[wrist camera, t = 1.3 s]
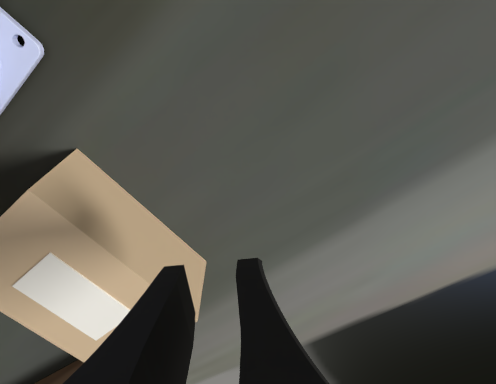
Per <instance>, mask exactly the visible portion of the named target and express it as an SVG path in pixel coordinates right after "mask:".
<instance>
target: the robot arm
mask: <svg viewBox="0 0 496 384" xmlns="http://www.w3.org/2000/svg"><path fill="white" fill-rule="evenodd" d="M18 35H20V36H22V38H23V39H24V41H25V44H24V46H22V45H20V44H19V42H18V39H17V38H18ZM43 55H44V48H43V46H42V44H41V43H40V42H39V41H38V40H37V39H36V38H35V37H34V36H33V35H32V34H30V33H29V32H28V31H27V30H26V29H25V28H24V27H22V26H21V25H20V24H19V23H18V22H17V21H16V20H14V19H13V18H12V17H11V16H10V15H9V14H8V13H6V12H5V11H4V10H3V9H2V8H1V7H0V115H1V113H2V112H3V111H4V109H5V108H6V107H7V105H8V104H9V102H10V101H11V100H12V98H13V97H14V96H15V94H16V93H17V92H18V90H19V89H20V87H21V86H22V85H23V83H24V82H25V81H26V79H27V78H28V76H29V75H30V74H31V72H32V71H33V70H34V68H35V67H36V66H37V64H38V63H39V61H40V60H41V59H42V57H43ZM236 282H237V293H238V304H239V315H240V326H241V358H240V379H239V384H329V383H328V381H327V380H326V379H325V377H324V376H323V375H322V374H321V372H320V371H319V369H318V368H317V367H316V365H315V364H314V363H313V361H312V360H311V359H310V357H309V356H308V354H307V353H306V351H305V350H304V349H303V347H302V345H301V344H300V342H299V341H298V339H297V338H296V336H295V335H294V333H293V331H292V330H291V328H290V326H289V325H288V323H287V321H286V319H285V318H284V316H283V314H282V312H281V310H280V308H279V306H278V304H277V302H276V300H275V298H274V296H273V294H272V292H271V290H270V287H269V285H268V282H267V280H266V277H265V274H264V271H263V266H262V261H261V260H260V259H259V258H252V259H241V260H238V261H237V270H236ZM195 315H196V313H195V309H194V305H193V300H192V296H191V292H190V288H189V284H188V280H187V276H186V271H185V267H184V265H175V266H164V267H163V269H162V270H161V271H160V272H159V274H158V275H157V276H156V278H155V279H154V280H153V282H152V283H151V284H150V286H149V287H148V288H147V289H146V291H145V292H144V293H143V295H142V296H141V297H140V299H139V300H138V301H137V302H136V304H135V305H134V306H133V307H132V309H131V310H130V311H129V312H128V314H127V315H126V316H125V317H124V319H123V320H122V321H121V322H120V324H119V325H118V326H117V327H116V328H115V329H114V330H113V332H112V333H111V334H110V335H109V336H108V337H107V338H106V340H105V341H104V342H103V343H102V344H101V345H100V346H99V347H98V349H97V350H96V351H95V352H94V353H93V354H92V355H91V356H90V357H89V358H88V359H87V360H86V361H85V362H84V363H83V364H82V365H81V366H80V367H79V368H78V369H77V370H76V371H75V372H74V373H73V374H72V375H71V376H70V377H69V378H68V379H67V380H66V381H65V382H64V383H63V384H186V380H187V375H188V370H189V364H190V359H191V354H192V349H193V341H194V329H195Z"/></svg>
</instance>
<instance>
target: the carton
mask: <svg viewBox="0 0 496 384" xmlns="http://www.w3.org/2000/svg"><path fill="white" fill-rule="evenodd" d="M175 265H184V267H185V271H186V276H187V280H188V284H189V288H190V292H191V296H192V300H193V305H194V309H195V313H196V315H195V322H197V321H198V314H199V308H200V301H201V294H202V288H203V281H204V274H205V268H206V261H205V260H204V259H203V258H202V257H201V256H200V255H198V254H197V253H196V252H195V251H194V250H193V249H192V248H190V247H189V246H188V245H187V244H186V243H185V242H184V241H182V240H181V239H180V238H179V237H178V236H177V235H176V234H174V233H173V232H172V231H171V230H170V229H169V228H168V227H166V226H165V225H164V224H163V223H162V222H161V221H160V220H158V219H157V218H156V217H155V216H154V215H153V214H151V213H150V212H149V211H148V210H147V209H146V208H145V207H143V206H142V205H141V204H140V203H139V202H138V201H137V200H135V199H134V198H133V197H132V196H131V195H130V194H129V193H127V192H126V191H125V190H124V189H123V188H122V187H121V186H119V185H118V184H117V183H116V182H115V181H114V180H113V179H111V178H110V177H109V176H108V175H107V174H106V173H105V172H103V171H102V170H101V169H100V168H99V167H98V166H97V165H95V164H94V163H93V162H92V161H91V160H90V159H89V158H87V157H86V156H85V155H84V154H83V153H82V152H81V151H79V150H78V149H76V150H75V151H73V152H72V153H71V154H70V155H69V156H67V157H66V158H65V159H64V160H63V161H61V162H60V163H59V164H58V165H57V166H55V167H54V168H53V169H52V170H51V171H50V172H48V173H47V174H46V175H45V176H44V177H42V178H41V179H40V180H39V181H38V182H36V183H35V184H34V185H33V186H32V187H30V188H29V189H28V190H27V191H26V192H25V193H24V194H23V195H22V196H21V197H20V198H19V199H18V200H17V201H16V202H15V203H14V204H13V205H12V206H11V207H10V208H9V209H8V210H7V211H6V212H5V213H4V214H3V215H2V216H1V217H0V311H1V312H2V313H4V314H5V315H7V316H9V317H10V318H12V319H14V320H15V321H17V322H19V323H20V324H22V325H23V326H25V327H27V328H28V329H30V330H32V331H33V332H35V333H36V334H38V335H40V336H41V337H43V338H45V339H46V340H48V341H50V342H51V343H53V344H54V345H56V346H58V347H59V348H61V349H63V350H64V351H66V352H67V353H69V354H71V355H72V356H74V357H76V358H77V359H79V360H81V361H82V362H85V361H86V360H87V359H88V358H89V357H90V356H91V355H92V354H93V353H94V352H95V351H96V350H97V349H98V347H99V346H100V345H101V344H102V343H103V342H104V341H105V340H106V338H107V337H108V336H109V335H110V334H111V333H112V332H113V330H114V329H115V328H116V327H117V326H118V325H119V324H120V322H121V321H122V320H123V319H124V317H125V316H126V315H127V314H128V312H129V311H130V310H131V309H132V307H133V306H134V305H135V304H136V302H137V301H138V300H139V299H140V297H141V296H142V295H143V293H144V292H145V291H146V289H147V288H148V287H149V286H150V284H151V283H152V282H153V280H154V279H155V278H156V276H157V275H158V274H159V272H160V271H161V270H162V269H163V267H164V266H175Z"/></svg>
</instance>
